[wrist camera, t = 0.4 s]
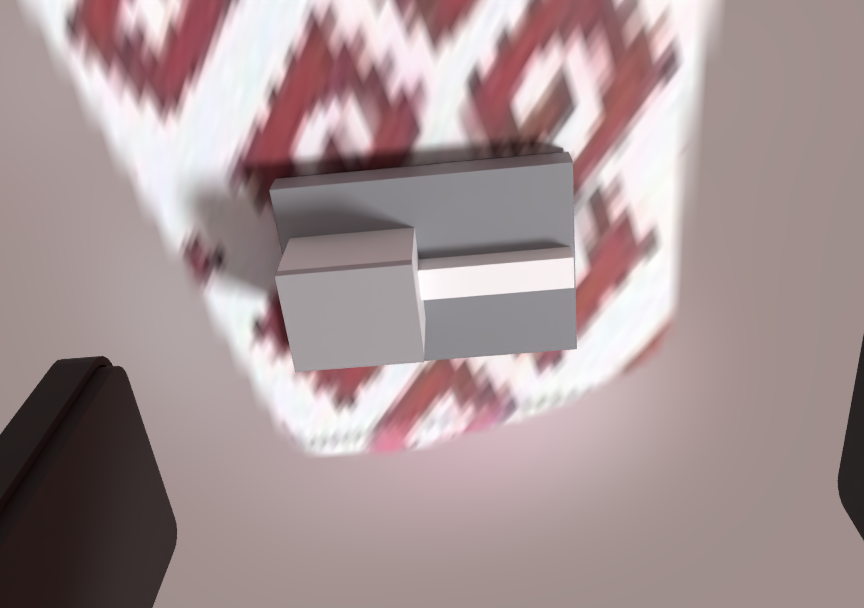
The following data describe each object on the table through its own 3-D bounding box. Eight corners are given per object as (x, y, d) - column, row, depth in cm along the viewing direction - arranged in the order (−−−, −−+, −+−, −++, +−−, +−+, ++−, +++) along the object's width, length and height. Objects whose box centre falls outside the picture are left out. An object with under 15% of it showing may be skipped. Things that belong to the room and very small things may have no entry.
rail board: (275, 178, 40) (251, 224, 35) (568, 151, 39) (586, 194, 34) (310, 354, 44) (294, 416, 40) (572, 333, 44) (588, 394, 39)
